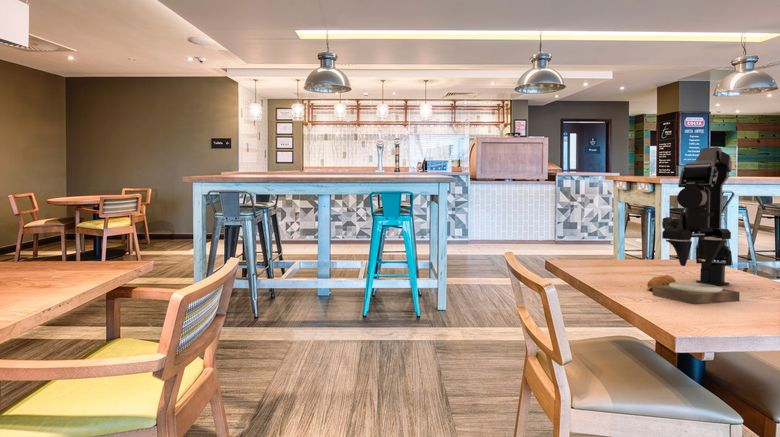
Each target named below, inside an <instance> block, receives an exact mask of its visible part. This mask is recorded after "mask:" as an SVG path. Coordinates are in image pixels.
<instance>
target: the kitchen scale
mask: <svg viewBox="0 0 780 437" xmlns="http://www.w3.org/2000/svg"><path fill="white" fill-rule="evenodd" d="M740 292H741V291H738V290H732V289H726V288H723V287H722V286H719V285H712V284H706V283H700V282H691V281H690V282H687V281H685V282H684V281H676V282H673V283H669V285H663V286H653V288H652V296H656V297H661V298H665V299H668V300H674V301H678V302H682V303H688V304H692V305H703V304H715V303H717V304H718V303H727V302H731V303H732V302H740Z"/></svg>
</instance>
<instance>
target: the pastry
mask: <svg viewBox="0 0 780 437" xmlns="http://www.w3.org/2000/svg"><path fill="white" fill-rule="evenodd" d="M673 282H677V281H676V279H675V278H674V276H671V275H668V274H666V275H658V276H654V277H651V279H650V280H648V282H647V284H646V285H647V289H649V288H651V289H653V286H663V285H669V283H673Z"/></svg>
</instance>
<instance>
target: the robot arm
mask: <svg viewBox="0 0 780 437" xmlns="http://www.w3.org/2000/svg"><path fill="white" fill-rule="evenodd" d="M698 154H699V155H698V156H697V157H696V159H695V160H694V161H693V160H692V161H689V162H687V163H685V164H684V166H683V167H682V168H681V169H680V170H681V171H680V176H679V181H678V185H677V186H678V188H681V190H680V191H679V192H678V194H677V196H676V200H677V203H678V204H679V205H680V206H681V207H682V208H683V209H684V211H683V212H682V211H681V213H680V214H679V217H678V218H672V217H671V216H667V217H663V218H662V222H661V225H662V226H661V227H662V229H663V230H662V232H661V234H662V235H661V236H662V237H661V239H662V240H663V239H664V240H665V242H667V243H669V244H671V245H672V247H673V248H674V250H675V253H676V256H677V259H678V262H679V264H680V266H681V267H685V266H686V265H687V262H688V258H689V254H690V251H691V249H692V248H691V247H692V245H693V244H692V243H693V241H691V239H692V238H699V239H698V244H696V248H695V258H696V259H695V260H696V264H697V265H698V264H699V265H700V272H699V273H700V274H699V275H700V276H699V279H698V280H697V279H696V281H695V283H702V284H709V285H715V286H719V285H720V286H721V285H722V286H723V285H730V282H728V281H727V282H726V281H725V279H726V278H725V277H726V275H725V274H726V267H729V266H730V267H731V266H732V265H733V258H732V257H733V256H732V251H731V249H730V246H728V240H731V239H732V235H731V234H732V232H731V231H730V229H728V228H722V218H723V216H722V212H723V187H724V184H725V183H726V182H727V180H728V179H729V177H730V173H731V172H732V171H733V170H732V169H733V167H732V166H733V164H732V163H733V162H732V159H731V155H730V154H729V153H726V152H724V151H723V150H722V148H721V147H718V146H711V147H709V146H708V147H703V148H700V150H699V153H698Z"/></svg>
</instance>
